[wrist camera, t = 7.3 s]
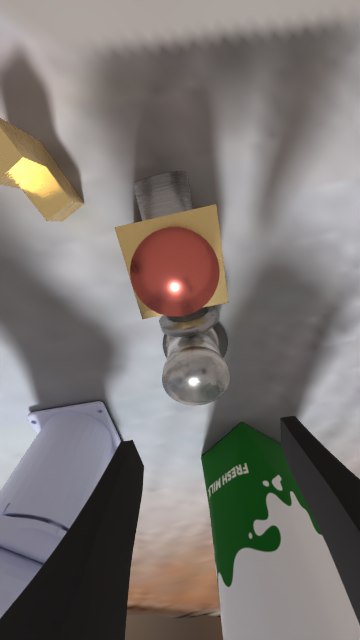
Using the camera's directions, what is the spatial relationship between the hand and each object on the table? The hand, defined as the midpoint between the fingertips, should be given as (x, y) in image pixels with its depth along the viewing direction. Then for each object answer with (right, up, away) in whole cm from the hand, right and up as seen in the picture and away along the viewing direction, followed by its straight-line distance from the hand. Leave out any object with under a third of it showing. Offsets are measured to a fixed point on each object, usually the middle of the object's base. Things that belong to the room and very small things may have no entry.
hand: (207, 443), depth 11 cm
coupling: (0, +4, +8) cm, 9 cm away
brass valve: (-2, +11, +5) cm, 12 cm away
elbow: (-10, +15, +4) cm, 18 cm away
